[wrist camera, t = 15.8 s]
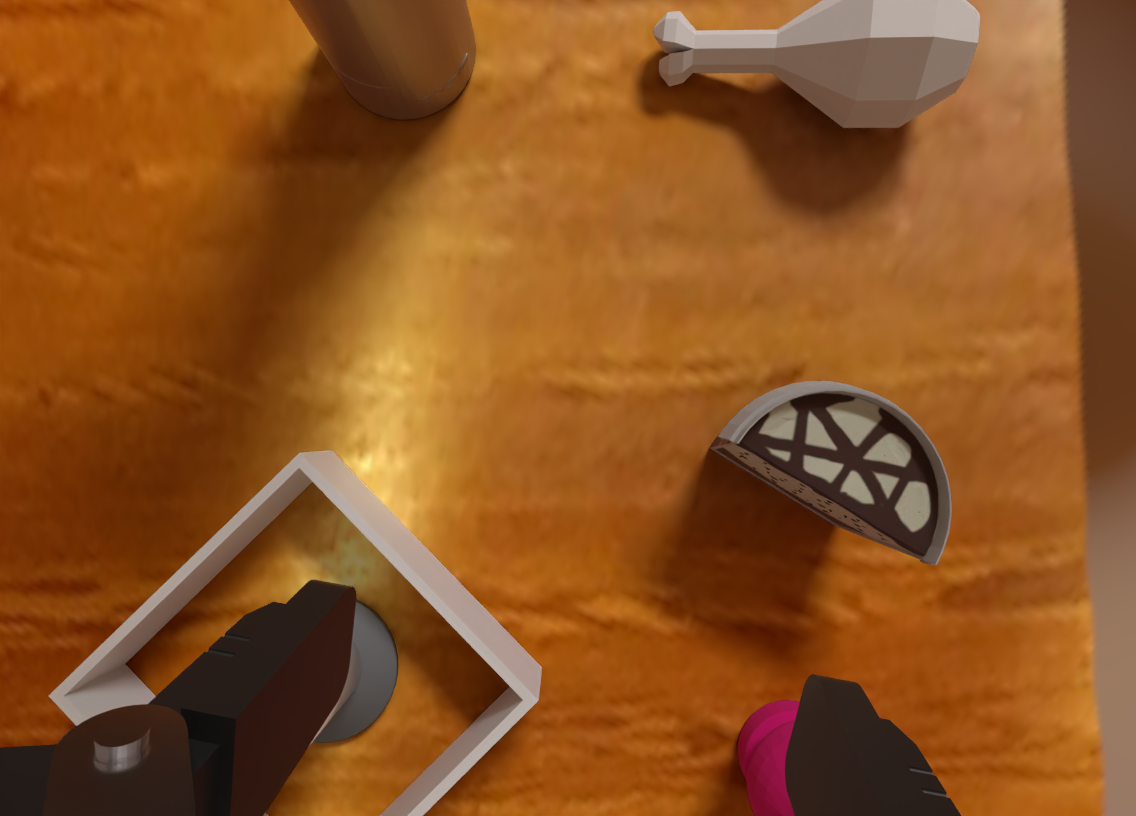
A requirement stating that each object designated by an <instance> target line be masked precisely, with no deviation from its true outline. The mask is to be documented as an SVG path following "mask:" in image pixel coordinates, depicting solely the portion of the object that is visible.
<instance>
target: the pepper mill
mask: <svg viewBox="0 0 1136 816" xmlns="http://www.w3.org/2000/svg"><path fill="white" fill-rule="evenodd" d="M799 703H800V702H797V701H790V700H782V701H776V702H772V703H769V704H767V705H765V706H763V707H761V708H760V709H758V710H757V711H756V712H755V713H754V714H752V715H751V716H750V718H749V719H748V720H747V721H746V723H745V725H744V727H743V728H742V730H741V733H740V737H739V740H738V750H737V751H738V761H739V765H740V768H741V771H742V773H743V775H744V777H745V779H746V781H747V793H748V798H749V802H750V805H751V808H752V811H753V813H754V815H755V816H795V815H794V812H793V809H792V806H791V803H790V800H789V796H788V793H787V789H786V783H785V758H786V752H787V748H788V744H789V740H790V737H791V733H792V729H793V726H794V722H795V718H796V714H797V711H798V707H799Z"/></svg>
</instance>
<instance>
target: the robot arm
mask: <svg viewBox="0 0 1136 816" xmlns="http://www.w3.org/2000/svg"><path fill="white" fill-rule="evenodd" d="M289 1H290V2H291V4H292V6H293V7H294V9H295V10H296V12H297V13H298V15H299V16H300V18H301V20H302V21H303V23H304V24H305V26H306V27H307V29H308V30H309V32H310V34H311V35H312V37H313V38H314V40H315V41H316V43H317V44H318V46H319V47H320V49H321V51H322V53H323V54H324V56H325V57H326V59H327V60H328V62H329V63H330V65H331V66H332V68H333V69H334V71H335V73H336V74H337V76H338V77H339V79H340V80H341V82H342V83H343V85H344V86H345V88H346V89H347V91H348V92H349V94H350V95H351V96H352V97H353V98H354V99H355V100H356V101H357V102H358V103H359V104H361V105H362V106H364V107H365V108H367V109H368V110H370V111H371V112H373V113H376V114H378V115H381V116H383V117H387V118H393V119H399V120H404V119H417V118H421V117H425V116H429V115H431V114H433V113H435V112H437V111H439V110H442V109H443V108H445V107H446V106H447V105H448V104H450V103H451V102H452V101H454V100H455V99H456V97H457V96H458V95H459V94H460V93H461V91H462V90H463V89H464V87H465V86H466V84H467V82H468V80H469V78H470V76H471V73H472V70H473V66H474V63H475V51H476V45H475V39H474V32H473V28H472V24H471V20H470V15H469V11H468V7H467V2H466V0H289ZM355 607H356V591H355V588H354V587H351V586H346V585H340V584H335V583H330V582H324V581H319V580H310V581H309V582H308V583H306V584H305V585H304V586H303V587H302V588H301V589H300V590H299V591H298V592H297V593H296V594H295V595H294V596H293V597H292V598H291V599H290V600H289V601H288V602H287V603H286V604H282V603H277V602H272V603H270V604H268V605H266V606H264V607H261V608H259V609H257V610H255V611H253V612H251V613H248V614H246V615H245V616H244V617H242V618H241V619H240V620H239V621H238V622H237V623H236V624H235V625H234V626H233V627H231V628H230V629H229V630H228V631H227V632H226V633H225V636H224V637H221V638H219V639H218V640H217V641H216V642H215V643H214V644H213V645H212V646H211V647H210V648H209V650H208V652H204V653H203V654H202V655H201V656H200V657H199V658H197V659H196V660H195V661H194V662H193V663H192V664H191V665H190V666H189V667H188V668H187V669H185V670H184V671H183V672H182V673H181V674H180V675H179V676H178V677H177V678H176V679H174V680H173V681H172V682H171V683H170V684H169V685H168V686H167V687H166V688H165V689H163V690H162V691H161V692H160V693H159V694H158V695H157V696H156V697H155V698H154V699H153V700H151V701H150V702H149V703H148V704H141V705H131V706H124V707H120V708H116V709H112V710H109V711H106V712H103V713H100V714H98V715H96V716H93V717H91V718H89V719H87V720H85V721H84V722H82V723H80V724H79V725H77V726H76V727H74V728H73V729H71V730H70V731H69V732H68V733H67V734H66V735H65V736H64V737H63V738H62V739H61V740H60V741H59V742H58V744H55V745H41V746H22V747H2V748H0V816H263V815H264V814H265V812H266V811H267V809H268V808H269V806H270V804H271V803H272V801H273V800H274V798H275V797H276V795H277V794H278V792H279V791H280V789H281V788H282V786H283V785H284V783H285V782H286V780H287V779H288V777H289V776H290V774H291V772H292V771H293V769H294V768H295V766H296V765H297V763H298V762H299V760H300V759H301V757H302V756H303V754H304V753H305V751H306V750H307V748H308V747H309V745H310V744H311V742H312V740H313V739H314V737H315V736H316V734H317V733H318V731H319V730H320V728H321V727H322V725H323V724H324V722H325V721H326V719H327V718H328V716H329V715H330V713H331V712H332V710H333V708H334V707H335V705H336V704H337V702H338V700H339V698H340V696H341V694H342V691H343V689H344V686H345V683H346V680H347V676H348V672H349V666H350V657H351V647H352V637H353V627H354V617H355ZM785 783H786V789H787V793H788V796H789V800H790V803H791V806H792V809H793V812H794V815H795V816H961V815H960V813H959V812H958V810H957V808H956V807H955V805H954V804H953V802H952V801H951V799H950V798H947V797H946V791H945V789H944V788H943V786H942V785H941V783H940V782H939V780H938V778H937V777H936V776H934V775H933V774H932V769H931V767H930V766H929V764H928V763H927V761H926V760H925V758H924V756H923V755H922V753H921V752H920V750H919V749H918V747H917V745H916V744H915V743H914V742H913V741H912V740H910V739H909V738H908V737H907V736H906V735H905V734H904V733H903V732H902V731H901V730H900V729H899V728H897V727H896V726H895V725H894V724H893V723H892V722H891V721H890V720H887V719H881V718H879V716H878V715H877V713H876V711H875V709H874V708H873V706H872V704H871V703H870V701H869V699H868V698H867V696H866V694H865V693H864V691H863V689H862V688H861V686H860V685H859V684H858V683H856V682H850V681H845V680H840V679H834V678H829V677H824V676H818V675H810V676H809V677H808V679H807V680H806V683H805V685H804V688H803V692H802V696H801V700H800V703H799V707H798V711H797V714H796V718H795V722H794V726H793V729H792V733H791V737H790V740H789V744H788V748H787V752H786V758H785Z"/></svg>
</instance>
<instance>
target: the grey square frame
mask: <svg viewBox="0 0 1136 816" xmlns="http://www.w3.org/2000/svg"><path fill="white" fill-rule="evenodd" d="M312 482H313V483H314V484H315V485H316V486H317V487H318V488H319V489H320V490H321V491H322V492H323V493H324V494H325V495H326V496H327V497H328V498H329V499H330V500H331V501H332V502H333V503H334V504H335V505H336V507H337V508H338V509H339V510H340V511H341V512H342V513H343V514H344V515H345V516H346V517H347V518H348V519H349V520H350V521H351V522H352V523H353V524H354V525H355V526H356V527H357V528H358V529H359V530H360V531H361V532H362V533H363V535H364V536H365V537H366V538H367V539H368V540H369V541H370V542H371V543H372V544H373V545H374V546H375V547H376V548H377V549H378V550H379V551H380V552H381V553H382V554H383V555H384V556H385V557H386V558H387V559H388V560H389V561H390V563H391V564H392V565H393V566H394V567H395V568H396V569H397V570H398V571H399V572H400V573H401V574H402V575H403V576H404V577H405V578H406V579H407V580H408V581H409V582H410V583H411V584H412V585H413V586H414V587H415V588H416V589H417V591H418V592H419V593H420V594H421V595H422V596H423V597H424V598H425V599H426V600H427V601H428V602H429V603H430V604H431V605H432V606H433V607H434V608H435V609H436V610H437V611H438V612H439V613H440V614H441V615H442V616H443V618H444V619H445V620H446V621H447V622H448V623H449V624H450V625H451V626H452V627H453V628H454V629H455V630H456V631H457V632H458V633H459V634H460V635H461V636H462V637H463V638H464V639H465V640H466V641H467V642H468V643H469V644H470V646H471V647H472V648H473V649H474V650H475V651H476V652H477V653H478V654H479V655H480V656H481V657H482V658H483V659H484V660H485V661H486V662H487V663H488V664H489V665H490V666H491V667H492V668H493V669H494V670H495V671H496V672H497V674H498V675H499V676H500V677H501V678H502V679H503V680H504V681H505V682H506V683H507V684H508V685H509V687H508V688H507V689H506V690H505V691H504V692H503V693H502V694H501V695H500V696H499V697H498V698H497V699H496V700H495V701H494V702H493V703H492V704H491V705H490V706H489V707H488V708H487V709H486V710H485V711H484V712H483V713H482V714H481V715H480V716H479V717H478V718H477V719H476V720H475V721H474V722H473V723H472V724H471V725H470V726H469V727H468V728H467V729H466V730H465V731H464V732H463V733H462V734H461V735H460V736H459V737H458V738H457V739H456V740H455V741H454V742H453V743H452V744H451V745H450V746H449V747H448V748H447V749H446V750H445V751H444V752H443V753H442V754H441V755H440V756H439V757H438V758H437V759H436V760H435V761H434V762H433V763H432V764H431V765H430V766H429V767H428V768H427V769H426V770H425V771H424V772H423V773H422V774H421V775H420V776H419V777H418V778H417V779H416V780H415V781H414V782H413V783H412V784H411V785H410V786H409V787H408V788H407V789H406V790H405V791H404V792H403V793H402V794H401V795H400V796H399V797H398V798H397V799H396V800H395V801H394V802H393V803H392V804H391V805H390V806H389V807H388V808H387V809H386V810H385V811H384V812H383V813H382V814H381V815H380V816H423V815H424V814H425V813H426V812H427V811H428V810H429V809H430V808H431V807H432V806H433V805H434V804H435V803H436V802H437V801H438V800H439V799H440V798H441V797H442V796H443V795H444V794H445V793H446V792H447V791H448V790H449V789H450V788H451V787H452V786H453V785H454V784H455V783H456V782H457V781H458V780H459V779H460V778H461V777H462V776H463V775H464V774H465V773H466V772H467V771H468V770H469V769H470V768H471V767H472V766H473V765H474V764H475V763H476V762H477V761H478V760H479V759H480V758H481V757H482V756H483V755H484V754H485V753H486V752H487V751H488V750H489V749H490V748H491V747H492V746H493V745H494V744H495V743H496V742H497V741H498V740H499V739H500V738H501V737H502V736H503V735H504V734H505V733H506V732H507V731H508V730H509V729H510V728H511V727H512V726H513V725H514V724H515V723H516V722H517V721H518V720H519V719H520V718H521V717H522V716H523V715H524V714H525V713H526V712H527V711H528V710H529V709H530V708H531V707H532V706H533V705H534V704H535V703H536V702H537V701H538V700H539V692H540V682H541V673H542V667H541V666H540V665H539V664H538V663H537V662H536V661H535V660H534V659H533V658H532V657H531V656H530V655H529V654H528V653H527V652H526V650H525V649H524V648H523V647H522V646H521V645H520V644H519V643H518V642H517V641H516V640H515V639H514V638H513V637H512V636H511V635H510V634H509V633H508V632H507V631H506V630H505V629H504V628H503V627H502V626H501V625H500V624H499V623H498V622H497V620H496V619H495V618H494V617H493V616H492V615H491V614H490V613H489V612H488V611H487V610H486V609H485V608H484V607H483V606H482V605H481V604H480V603H479V602H478V601H477V600H476V599H475V598H474V597H473V596H472V595H471V594H470V593H469V592H468V590H467V589H466V588H465V587H464V586H463V585H462V584H461V583H460V582H459V581H458V580H457V579H456V578H455V577H454V576H453V575H452V574H451V573H450V572H449V571H448V570H447V569H446V568H445V567H444V566H443V565H442V564H441V563H440V562H439V560H438V559H437V558H436V557H435V556H434V555H433V554H432V553H431V552H430V551H429V550H428V549H427V548H426V547H425V546H424V545H423V544H422V543H421V542H420V541H419V540H418V539H417V538H416V537H415V536H414V535H413V534H412V533H411V532H410V530H409V529H408V528H407V527H406V526H405V525H404V524H403V523H402V522H401V521H400V520H399V519H398V518H397V517H396V516H395V515H394V514H393V513H392V512H391V511H390V510H389V509H388V508H387V507H386V506H385V505H384V504H383V503H382V502H381V500H380V499H379V498H378V497H377V496H376V495H375V494H374V493H373V492H372V491H371V490H370V489H369V488H368V487H367V486H366V485H365V484H364V483H363V482H362V481H361V480H360V479H359V478H358V477H357V476H356V475H355V474H354V473H353V472H352V470H351V469H350V468H349V467H348V466H347V465H346V464H345V463H344V462H343V461H342V460H341V459H340V458H339V457H338V456H337V455H336V454H335V453H334V452H333V451H332V450H328V451H315V452H302V453H299V454H298V455H297V456H296V457H295V458H294V459H293V460H292V461H291V462H289V463H288V464H287V465H286V466H285V467H284V468H283V469H282V470H281V471H280V472H279V473H278V474H277V475H276V476H275V477H274V478H273V479H272V480H271V481H270V482H269V483H268V484H267V485H266V486H265V487H264V488H263V489H262V490H261V491H260V492H258V493H257V494H256V495H255V496H254V497H253V498H252V499H251V500H250V501H249V502H248V503H247V504H246V505H245V506H244V507H243V508H242V509H241V510H240V511H239V512H238V513H237V514H236V515H235V516H234V517H233V518H232V519H231V520H230V521H229V522H228V523H226V524H225V525H224V526H223V527H222V528H221V529H220V530H219V531H218V532H217V533H216V534H215V535H214V536H213V537H212V538H211V539H210V540H209V541H208V542H207V543H206V544H205V545H204V546H203V547H202V548H201V549H200V550H199V551H198V552H197V553H195V554H194V555H193V556H192V557H191V558H190V559H189V560H188V561H187V562H186V563H185V564H184V565H183V566H182V567H181V568H180V569H179V570H178V571H177V572H176V573H175V574H174V575H173V576H172V577H171V578H170V579H169V580H168V581H167V582H166V583H164V584H163V585H162V586H161V587H160V588H159V589H158V590H157V591H156V592H155V593H154V594H153V595H152V596H151V597H150V598H149V599H148V600H147V601H146V602H145V603H144V604H143V605H142V606H141V607H140V608H139V609H138V610H137V611H136V612H135V613H134V614H132V615H131V616H130V617H129V618H128V619H127V620H126V621H125V622H124V623H123V624H122V625H121V626H120V627H119V628H118V629H117V630H116V631H115V632H114V633H113V634H112V635H111V636H110V637H109V638H108V639H107V640H106V641H105V642H104V643H103V644H101V645H100V646H99V647H98V648H97V649H96V650H95V651H94V652H93V653H92V654H91V655H90V656H89V657H88V658H87V659H86V660H85V661H84V662H83V663H82V664H81V665H80V666H79V667H78V668H77V669H76V670H75V671H74V672H73V673H72V674H71V675H69V676H68V677H67V678H66V679H65V680H64V681H63V682H62V683H61V684H60V685H59V686H58V687H57V688H56V689H55V690H54V691H53V692H52V693H51V694H50V695H49V697H50V698H51V699H52V700H53V701H54V702H55V704H56V705H57V706H58V707H59V708H60V709H61V710H62V711H63V712H64V713H65V714H66V715H67V716H68V717H69V718H70V720H71V721H72V722H73V723H74V724H75V725H76V726H77V725H79V724H80V723H82V722H84V721H85V720H87V719H89V718H91V717H93V716H96V715H98V714H100V713H103V712H106V711H109V710H112V709H116V708H120V707H124V706H131V705H141V704H148V703H149V702H150V701H151V700H153V699H154V698H155V697H156V696H155V695H154V694H153V693H152V692H151V691H150V690H149V688H148V687H147V686H146V685H145V684H144V683H143V682H142V681H141V680H140V679H139V678H138V677H137V676H136V675H135V674H134V673H133V672H132V670H131V669H130V668H129V667H128V666H127V665H126V663H127V662H128V661H129V660H130V659H131V658H132V657H133V656H134V655H135V654H136V653H137V652H138V651H139V650H140V649H141V648H142V647H143V646H144V645H145V644H146V643H147V642H148V641H149V640H150V639H151V638H152V637H153V636H154V635H155V634H156V633H157V632H158V631H160V630H161V629H162V628H163V627H164V626H165V625H166V624H167V623H168V622H169V621H170V620H171V619H172V618H173V617H174V616H175V615H176V614H177V613H178V612H179V611H180V610H181V609H182V608H183V607H184V606H185V605H186V604H187V603H188V602H189V601H190V600H191V599H192V598H194V597H195V596H196V595H197V594H198V593H199V592H200V591H201V590H202V589H203V588H204V587H205V586H206V585H207V584H208V583H209V582H210V581H211V580H212V579H213V578H214V577H215V576H216V575H217V574H218V573H219V572H220V571H221V570H222V569H223V568H224V567H225V566H226V565H228V564H229V563H230V562H231V561H232V560H233V559H234V558H235V557H236V556H237V555H238V554H239V553H240V552H241V551H242V550H243V549H244V548H245V547H246V546H247V545H248V544H249V543H250V542H251V541H252V540H253V539H254V538H255V537H256V536H257V535H258V534H259V533H260V532H262V531H263V530H264V529H265V528H266V527H267V526H268V525H269V524H270V523H271V522H272V521H273V520H274V519H275V518H276V517H277V516H278V515H279V514H280V513H281V512H282V511H283V510H284V509H285V508H286V507H287V506H288V505H289V504H290V503H291V502H292V501H293V500H295V499H296V498H297V497H298V496H299V495H300V494H301V493H302V492H303V491H304V490H305V489H306V488H307V487H308V486H309V485H310V484H311V483H312ZM263 816H268V815H267V813H266V812H265V814H264V815H263Z"/></svg>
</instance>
